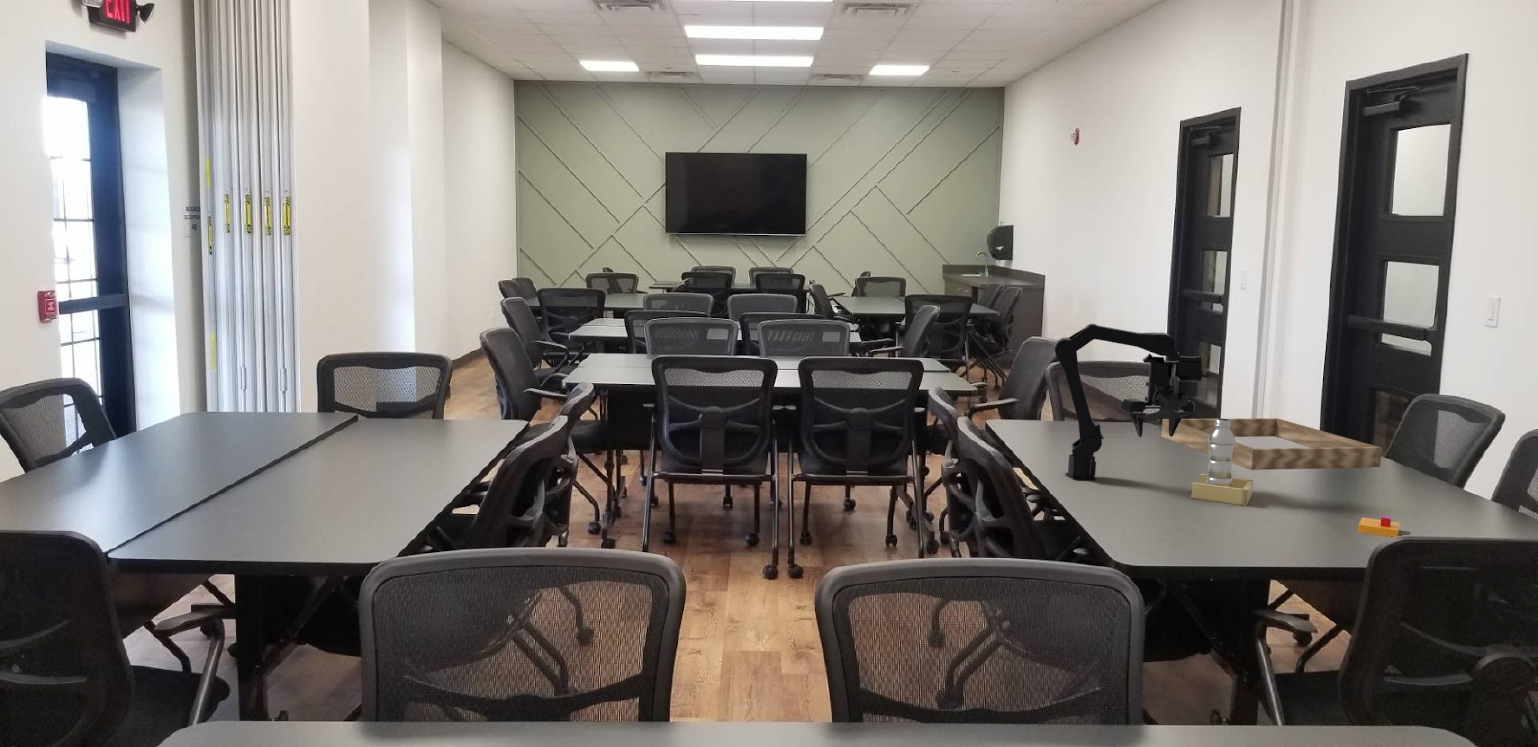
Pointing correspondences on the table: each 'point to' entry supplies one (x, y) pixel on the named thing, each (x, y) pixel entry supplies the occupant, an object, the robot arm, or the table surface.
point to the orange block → (1379, 526)
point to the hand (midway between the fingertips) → (1155, 436)
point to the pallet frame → (1320, 455)
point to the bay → (1223, 491)
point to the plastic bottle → (1220, 454)
